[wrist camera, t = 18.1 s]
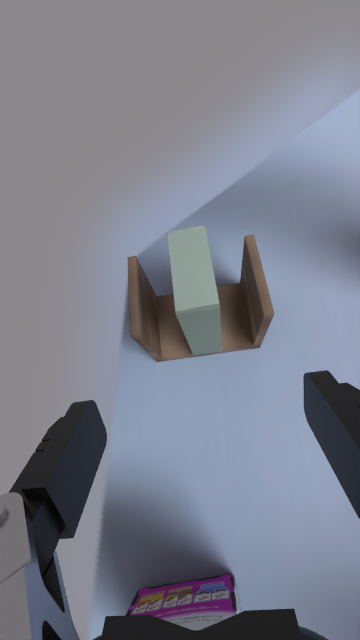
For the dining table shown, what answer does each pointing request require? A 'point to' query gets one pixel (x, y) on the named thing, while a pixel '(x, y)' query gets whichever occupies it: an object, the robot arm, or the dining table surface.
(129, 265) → the cubby
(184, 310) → the book
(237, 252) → the dining table surface
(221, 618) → the candy bar box
